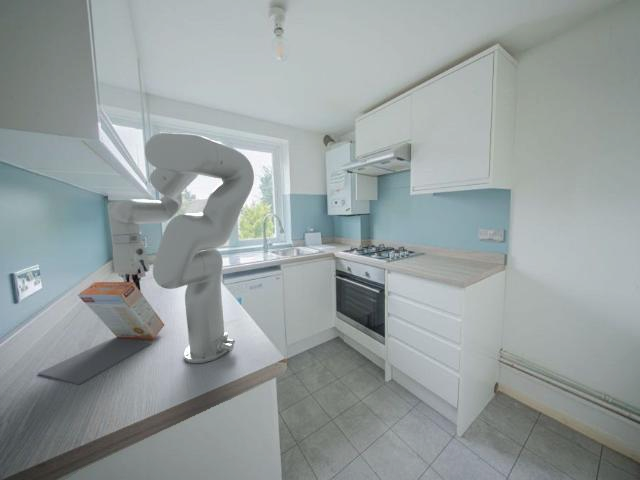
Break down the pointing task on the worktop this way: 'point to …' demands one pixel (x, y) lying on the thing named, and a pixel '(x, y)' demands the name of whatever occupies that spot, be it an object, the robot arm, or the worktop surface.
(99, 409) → the worktop surface
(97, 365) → the mat
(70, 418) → the worktop surface
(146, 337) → the cracker box
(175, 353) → the worktop surface
